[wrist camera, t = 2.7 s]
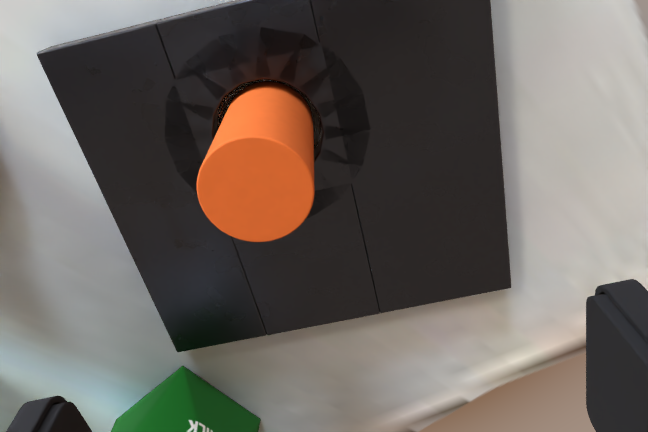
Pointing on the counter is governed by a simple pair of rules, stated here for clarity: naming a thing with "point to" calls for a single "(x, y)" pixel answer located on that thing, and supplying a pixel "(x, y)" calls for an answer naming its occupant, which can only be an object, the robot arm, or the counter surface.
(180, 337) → the sink plate
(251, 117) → the plug
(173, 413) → the milk carton
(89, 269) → the counter surface
